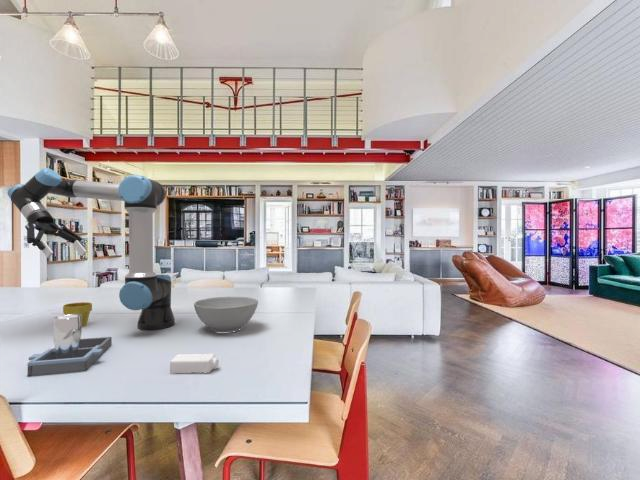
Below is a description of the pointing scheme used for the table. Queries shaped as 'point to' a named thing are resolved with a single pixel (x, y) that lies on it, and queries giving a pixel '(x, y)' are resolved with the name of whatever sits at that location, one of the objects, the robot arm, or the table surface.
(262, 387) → the table surface
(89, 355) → the open frame
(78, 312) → the yellow bowl
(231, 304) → the decorative bowl
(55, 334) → the drinking glass
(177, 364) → the white bottle
